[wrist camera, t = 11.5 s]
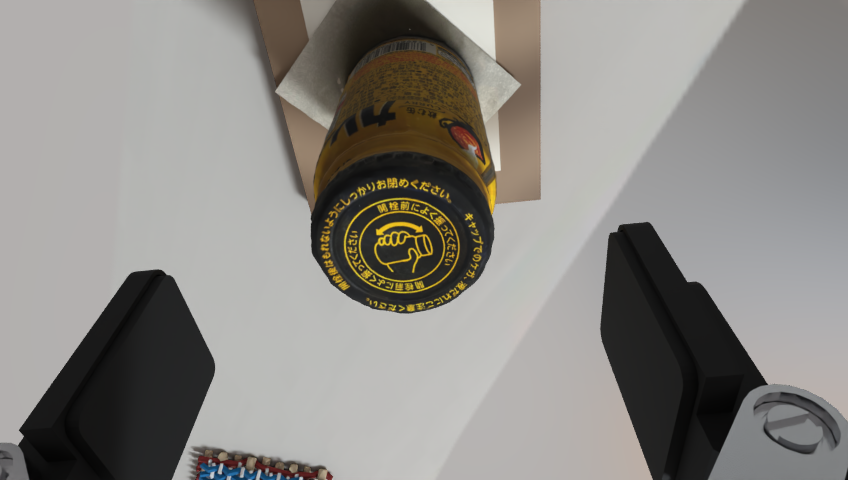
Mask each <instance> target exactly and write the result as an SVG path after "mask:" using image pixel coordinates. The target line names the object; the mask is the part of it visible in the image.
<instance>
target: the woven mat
mask: <svg viewBox="0 0 848 480" xmlns="http://www.w3.org/2000/svg"><path fill="white" fill-rule="evenodd" d="M212 455H213V451H210V450H206V451H205V456H199V458H198V462H199V463H198V466H196V471H197V472H198V471H201V472H200V474H198V475H197V477H196V480H309V478H315V477H317V479H314V480H325V479H328V480H332V478H333V476H332V475H331V474H330V473H328V472H327V470H326V469H319V470H318V471H315V472H313V473H311V467H304V470H303V472H297V471H298V465H297V464H291V465H290V468H289V471H286V470H284V463H281V462H278V463H276V465H275V468H274V467H270V466H269V465H270V460H271V458H266V457H263V460H262V464H260V463H259V462H258V461H257V458H255V457H248V459H247V458H246V459H243V460H242V456H239V455H235V459H234V461H233V460H227V459H228V455H227V453H226V452H221V453H220V454H219V455H218V458H212ZM243 465H246V467H242V468H241V466H243ZM255 467H256V468H257V469H258V471H254V470H255ZM245 468H246V469H245Z"/></svg>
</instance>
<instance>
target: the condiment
mask: <svg viewBox="0 0 848 480" xmlns="http://www.w3.org/2000/svg"><path fill="white" fill-rule="evenodd" d="M409 29H410V30H409ZM338 78H339V79H340V82H341V83H340V84H338V82H337V81H338ZM520 86H521V84H520V83H519V82H518V81H517V80H515V79H514V78H513V77H512V76H511V75H510V74H509V73H507V72H506V71H505V70H504V69H503V68H502V67H501V66H499V65H498V64H497V63H496V62H495V61H494V60H493V59H492V58H490V57H489V56H488V55H487V54H485V53H484V52H483V51H482V50H481V49H480V48H479V47H478V46H477V45H476V44H474V43H473V42H472V41H471V40H470V39H469V38H467V37H466V36H465V35H464V34H463V33H462V32H461V31H459V30H458V29H457V28H456V27H455V26H453V25H452V24H451V23H450V22H449V21H448V20H447V19H445V18H444V17H443V16H442V15H440V14H439V13H438V12H437V11H436V10H434V9H433V8H432V7H431V6H430V5H429V4H428V3H427V2H426V1H424V0H336V1H335V3H334V4H333V5H332V7H331V9H330V10H329V12H328V13H327V15H326V16H325V18H324V19H323V21H322V22H321V24H320V25H319V27H318V28H317V30H316V31H315V33H314V34H313V36H312V38H311V39H310V40H309V42H308V43H307V45H306V46H305V48H304V49H303V51H302V52H301V54H300V55H299V57H298V58H297V60H296V61H295V63H294V64H293V66H292V67H291V69H290V70H289V72H288V73H287V75H286V76H285V78H284V79H283V81H282V82H281V84H280V85H279V87H278V88H277V90H276V91H275V92H276V93H277V94H278V95H280V96H281V97H283V98H284V99H285V100H287V101H288V102H289V103H291V104H292V105H293V106H295V107H297V108H298V109H300V110H301V111H303V112H304V113H305V114H307V115H308V116H309V117H310V118H312V119H313V120H315V121H316V122H318V123H320V124H321V125H322V126H324V127H325V128H326V129H328V132H327V134H326V137H325V140H324V144H323V147H322V150H321V152H320V155H319V158H318V161H317V164H316V169H315V174H314V180H313V184H314V198H315V207H314V210H313V212H312V215H311V221H312V223H311V240H312V243H311V248H312V254H313V256H314V258H315V259H316V261H317V262H318V264H319V265H320V267H321V268H322V270H323V272H324V273H325V275H326V276H327V277H328V279H329V281H330V283H331V284H332V285H333V286H335V287H336V288H337V289H339V290H340V291H341V292H342V293H344V294H346V295H347V296H348V297H350V298H351V299H353V300H355V301H358V302H360V303H361V304H363V305H366V306H369V307H370V308H372V309H377V310H386V311H392V312H397V313H414V312H420V311H426V310H429V309H433V308H436V307H439V306H442V305H444V304H447V303H449V302H450V301H452V300H454V299H455V298H457V297H458V296H459V295H460V294H461V293H462V292H464V291H465V290H466V289H467V288H469V287H470V286H471V285H473V284H474V283H475V282H476V281H477V280H478V279H479V277H480V276H481V274H482V273H483V271H484V268H485V265H486V263H487V261H488V260H489V257H490V255H491V248H492V244H493V240H494V229H495V228H494V223H493V218H492V214H493V210H494V205H495V201H496V196H497V182H496V173H495V166H494V163H493V160H492V156H491V151H490V145H489V142H488V138H487V134H486V129H485V125H484V124H485V123H486V122H487V121H488V120H489V119H490V118H491V117H492V116H493V115H494V114H495V113H496V112H497V111H498V110H499V109H500V108H501V106H502V105H503V104H504V103H505V102H506V101H507V100H508V99H509V98H510V97H511V96H512V95H513V94H514V92H515V91H516V90H517V89H518V88H519V87H520ZM342 88H343V89H344V90H343V93H342V92H341V89H342Z"/></svg>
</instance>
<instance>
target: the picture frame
mask: <svg viewBox="0 0 848 480" xmlns="http://www.w3.org/2000/svg"><path fill="white" fill-rule="evenodd" d="M253 1H254V5H255V9H256V12H257V16H258V20H259V23H260V27H261V31H262V34H263V38H264V42H265V45H266V49H267V53H268V56H269V60H270V64H271V67H272V71H273V75H274V79H275V82H276V86H277V88H278V87H279V85H280V84H281V82H282V81H283V79H284V78H285V76H286V75H287V73H288V72H289V70H290V69H291V67H292V66H293V64H294V63H295V61H296V60H297V58H298V57H299V55H300V54H301V52H302V51H303V49H304V48H305V46H306V45H307V43H308V42H309V40H310V39H311V38H312V36H313V34H314V33H315V31H316V30H317V28H318V27H319V25H320V24H321V22H322V21H323V19H324V18H325V16H326V15H327V13H328V12H329V10H330V9H331V7H332V5H333V4H334V3H335V1H336V0H253ZM424 1H426V2H427V3H428V4H429V5H430V6H431V7H432V8H433V9H434V10H436V11H437V12H438V13H439V14H440V15H442V16H443V17H444V18H445V19H447V20H448V21H449V22H450V23H451V24H452V25H453V26H455V27H456V28H457V29H458V30H459V31H461V32H462V33H463V34H464V35H465V36H466V37H467V38H469V39H470V40H471V41H472V42H473V43H474V44H476V45H477V46H478V47H479V48H480V49H481V50H482V51H483V52H484V53H485V54H487V55H488V56H489V57H490V58H492V59H493V60H494V61H495V62H496V63H497V64H498V65H499V66H501V67H502V68H503V69H504V70H505V71H506V72H507V73H509V74H510V75H511V76H512V77H513V78H514V79H515V80H517V81H518V82H519V83H520V84H521V86H520V87H519V88H518V89H517V90H516V91H515V92H514V94H513V95H512V96H511V97H510V98H509V99H508V100H507V101H506V102H505V103H504V104H503V105H502V106H501V108H500V109H499V110H498V111H497V112H496V113H495V114H494V115H493V116H492V117H491V118H490V119H489V120H488V121H487V122H486V123H485V124H484V125H485V129H486V134H487V138H488V142H489V145H490V151H491V156H492V160H493V163H494V166H495V173H496V182H497V196H496V201H495V204H501V203H511V202H520V201H530V200H540V199H541V158H540V0H424ZM409 30H410V29H409ZM337 82H338V84H340V83H341V82H340V79H339V78H338V81H337ZM343 90H344V89H343V88H342V89H341V92H342V93H343ZM279 97H280V101H281V104H282V108H283V112H284V115H285V119H286V123H287V126H288V130H289V134H290V137H291V141H292V145H293V148H294V152H295V156H296V159H297V163H298V167H299V171H300V174H301V178H302V182H303V185H304V189H305V193H306V196H307V200H308V204H309V207H310V211H311V215H312V212H313V210H314V207H315V198H314V184H313V180H314V174H315V169H316V164H317V161H318V158H319V155H320V152H321V150H322V147H323V144H324V140H325V137H326V134H327V132H328V129H326V128H325V127H324V126H322V125H321V124H320V123H318V122H316V121H315V120H313V119H312V118H310V117H309V116H308V115H307V114H305V113H304V112H303V111H301V110H300V109H298V108H297V107H295V106H293V105H292V104H291V103H289V102H288V101H287V100H285V99H284V98H283V97H281V96H280V95H279Z"/></svg>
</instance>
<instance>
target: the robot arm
mask: <svg viewBox="0 0 848 480" xmlns="http://www.w3.org/2000/svg"><path fill="white" fill-rule="evenodd" d="M600 329H601V337H602V342H603V345H604V348H605V351H606V353H607V356H608V359H609V362H610V364H611V367H612V370H613V373H614V375H615V378H616V381H617V383H618V386H619V389H620V392H621V394H622V397H623V400H624V402H625V405H626V408H627V411H628V413H629V416H630V419H631V421H632V424H633V427H634V430H635V432H636V435H637V438H638V440H639V443H640V446H641V449H642V451H643V454H644V457H645V459H646V462H647V465H648V468H649V470H650V473H651V476H652V478H653V480H848V422H847V420H846V419H845V418H844V417H843V416H842V415H841V413H840V412H839V411H838V410H837V409H836V408H835V407H833V406H832V405H831V404H829V403H828V402H827V401H826V400H824V399H823V398H821V397H819V396H817V395H815V394H813V393H811V392H809V391H807V390H804V389H800V388H797V387H793V386H790V385H778V384H772V385H768V384H767V383H766V381H765V379H764V378H763V376H762V375H761V373H760V372H759V370H758V369H757V367H756V366H755V364H754V363H753V361H752V360H751V358H750V357H749V355H748V353H747V352H746V350H745V349H744V348H743V346H742V344H741V343H740V341H739V340H738V338H737V337H736V335H735V334H734V332H733V331H732V329H731V327H730V326H729V324H728V323H727V321H726V320H725V318H724V317H723V315H722V314H721V312H720V311H719V309H718V308H717V306H716V305H715V303H714V301H713V300H712V298H711V297H710V295H709V294H708V292H707V291H706V289H705V288H704V287H703V286H702V285H701V284H700V283H698V282H687V281H686V279H685V278H684V276H683V274H682V273H681V271H680V270H679V268H678V267H677V265H676V263H675V262H674V260H673V258H672V257H671V255H670V254H669V252H668V250H667V249H666V247H665V246H664V244H663V242H662V241H661V239H660V238H659V236H658V234H657V233H656V231H655V230H654V228H653V226H652V225H651V224H650V223H649V222H644V223H633V224H623V225H620V226H619V228H618V231H617V232H613V233H610V235H609V239H608V250H607V261H606V272H605V283H604V294H603V305H602V315H601V328H600ZM214 373H215V363H214V359H213V357H212V355H211V353H210V351H209V349H208V347H207V345H206V343H205V341H204V339H203V337H202V335H201V333H200V330H199V328H198V326H197V324H196V322H195V320H194V318H193V316H192V314H191V312H190V310H189V308H188V306H187V304H186V302H185V300H184V298H183V296H182V294H181V292H180V290H179V288H178V286H177V284H176V282H175V280H174V278H173V277H172V276H170V275H166V274H165V272H163V271H162V270H159V269H158V270H148V271H137V272H133V273H131V274H130V275H129V276H128V277H127V278H126V280H125V281H124V283H123V284H122V286H121V287H120V288H119V290H118V291H117V293H116V294H115V295H114V297H113V298H112V300H111V301H110V302H109V304H108V305H107V307H106V308H105V310H104V311H103V312H102V314H101V315H100V317H99V318H98V320H97V321H96V322H95V324H94V325H93V327H92V328H91V329H90V331H89V332H88V333H87V335H86V336H85V338H84V339H83V341H82V342H81V343H80V345H79V346H78V348H77V349H76V350H75V352H74V353H73V355H72V356H71V358H70V359H69V360H68V362H67V363H66V365H65V366H64V367H63V369H62V370H61V372H60V373H59V374H58V376H57V377H56V379H55V380H54V381H53V383H52V384H51V386H50V388H48V390H47V391H46V393H45V394H44V396H43V397H42V398H41V400H40V401H39V403H38V404H37V405H36V407H35V408H34V410H33V411H32V412H31V414H30V415H29V417H28V418H27V419H26V421H25V423H24V424H23V425H22V427H21V428H20V429H19V431H20V432H21V433H22V434H23V435H24V437H23V439H22V440H21V442H20V443H19V445H18V446H17V445H15V444H12V443H0V480H172V478H173V475H174V473H175V470H176V468H177V465H178V463H179V460H180V458H181V455H182V453H183V450H184V448H185V446H186V443H187V441H188V438H189V436H190V433H191V431H192V428H193V426H194V423H195V421H196V419H197V416H198V414H199V411H200V409H201V406H202V404H203V401H204V399H205V396H206V394H207V391H208V389H209V387H210V384H211V382H212V379H213V377H214Z"/></svg>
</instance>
